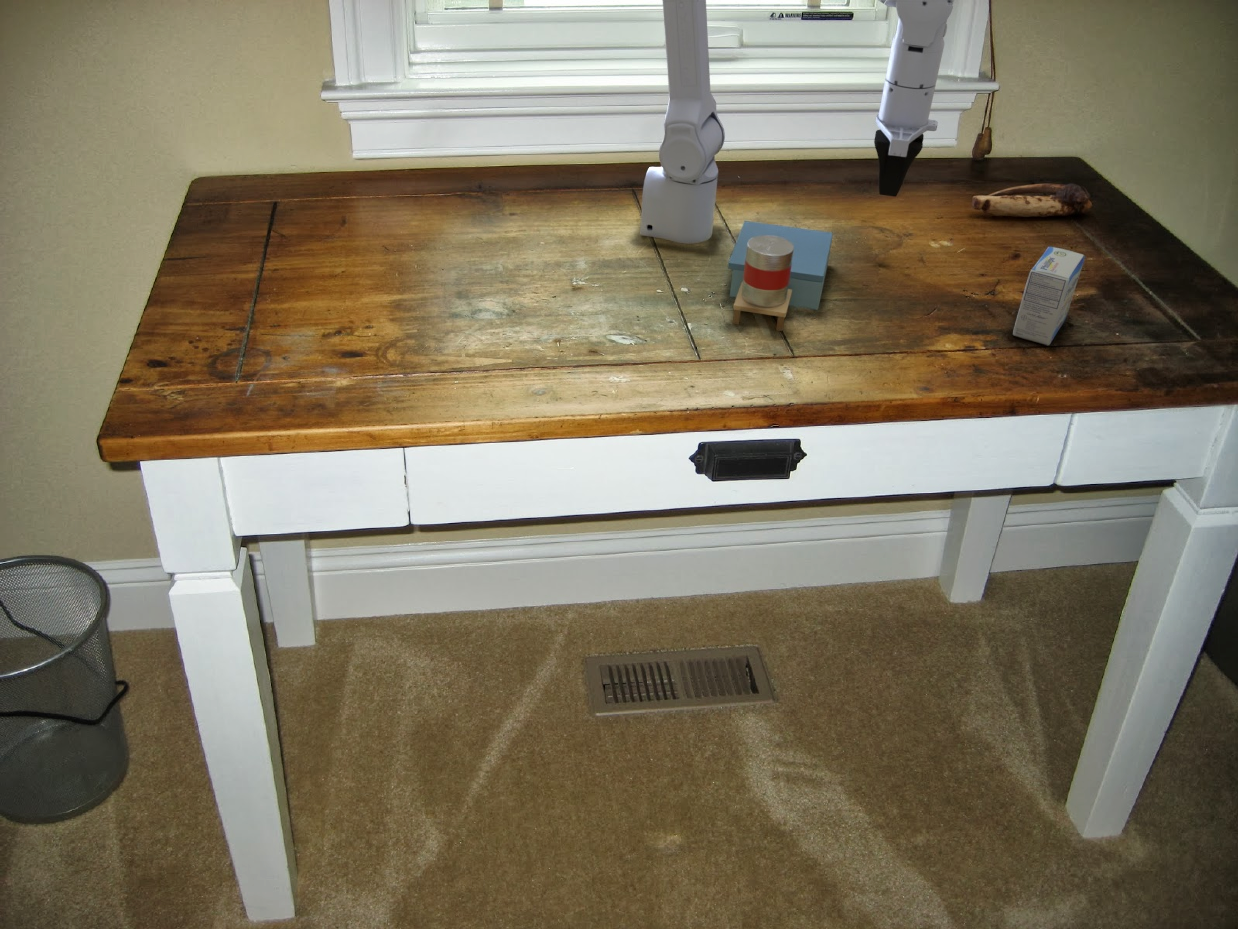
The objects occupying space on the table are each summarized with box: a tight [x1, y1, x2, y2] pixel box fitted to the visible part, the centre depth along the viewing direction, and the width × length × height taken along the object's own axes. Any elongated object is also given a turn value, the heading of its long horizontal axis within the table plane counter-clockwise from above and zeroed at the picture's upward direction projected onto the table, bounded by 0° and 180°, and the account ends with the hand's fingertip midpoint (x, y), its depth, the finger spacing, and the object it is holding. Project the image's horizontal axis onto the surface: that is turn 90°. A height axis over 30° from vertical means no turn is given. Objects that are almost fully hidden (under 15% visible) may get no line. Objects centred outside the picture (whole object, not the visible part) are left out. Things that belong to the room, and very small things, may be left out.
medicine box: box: [1012, 246, 1086, 347], centre depth 125 cm, size 8×4×9 cm, turn 148°
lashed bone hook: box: [971, 183, 1093, 218], centre depth 154 cm, size 9×5×18 cm
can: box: [741, 235, 794, 307], centre depth 122 cm, size 5×5×6 cm
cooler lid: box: [727, 220, 834, 282], centre depth 131 cm, size 11×13×1 cm
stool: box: [732, 282, 792, 332], centre depth 125 cm, size 6×6×3 cm
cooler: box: [729, 245, 832, 311], centre depth 132 cm, size 11×13×4 cm
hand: (887, 193), depth 132 cm, fingers closed
